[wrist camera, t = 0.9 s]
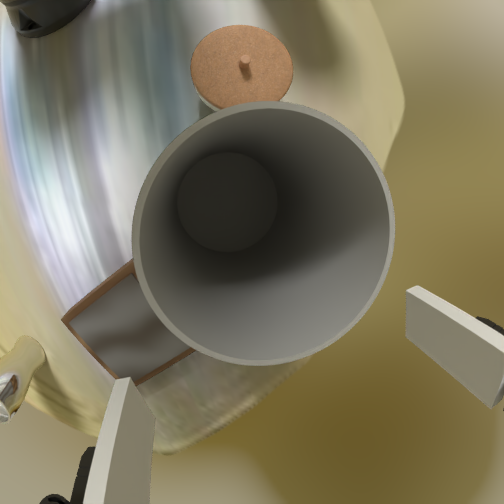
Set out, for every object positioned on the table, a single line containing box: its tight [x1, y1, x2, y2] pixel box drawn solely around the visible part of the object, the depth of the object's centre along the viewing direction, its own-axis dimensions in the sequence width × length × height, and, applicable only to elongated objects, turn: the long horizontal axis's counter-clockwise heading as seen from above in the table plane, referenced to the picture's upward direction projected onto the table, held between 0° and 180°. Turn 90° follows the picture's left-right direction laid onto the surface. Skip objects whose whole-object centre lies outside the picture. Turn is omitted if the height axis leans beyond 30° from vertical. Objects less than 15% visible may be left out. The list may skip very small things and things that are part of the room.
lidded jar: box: [191, 25, 293, 112], centre depth 29 cm, size 11×11×9 cm
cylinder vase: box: [132, 101, 395, 366], centre depth 25 cm, size 12×12×25 cm
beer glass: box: [0, 335, 45, 424], centre depth 29 cm, size 7×7×15 cm
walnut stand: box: [61, 259, 196, 386], centre depth 37 cm, size 14×14×4 cm
